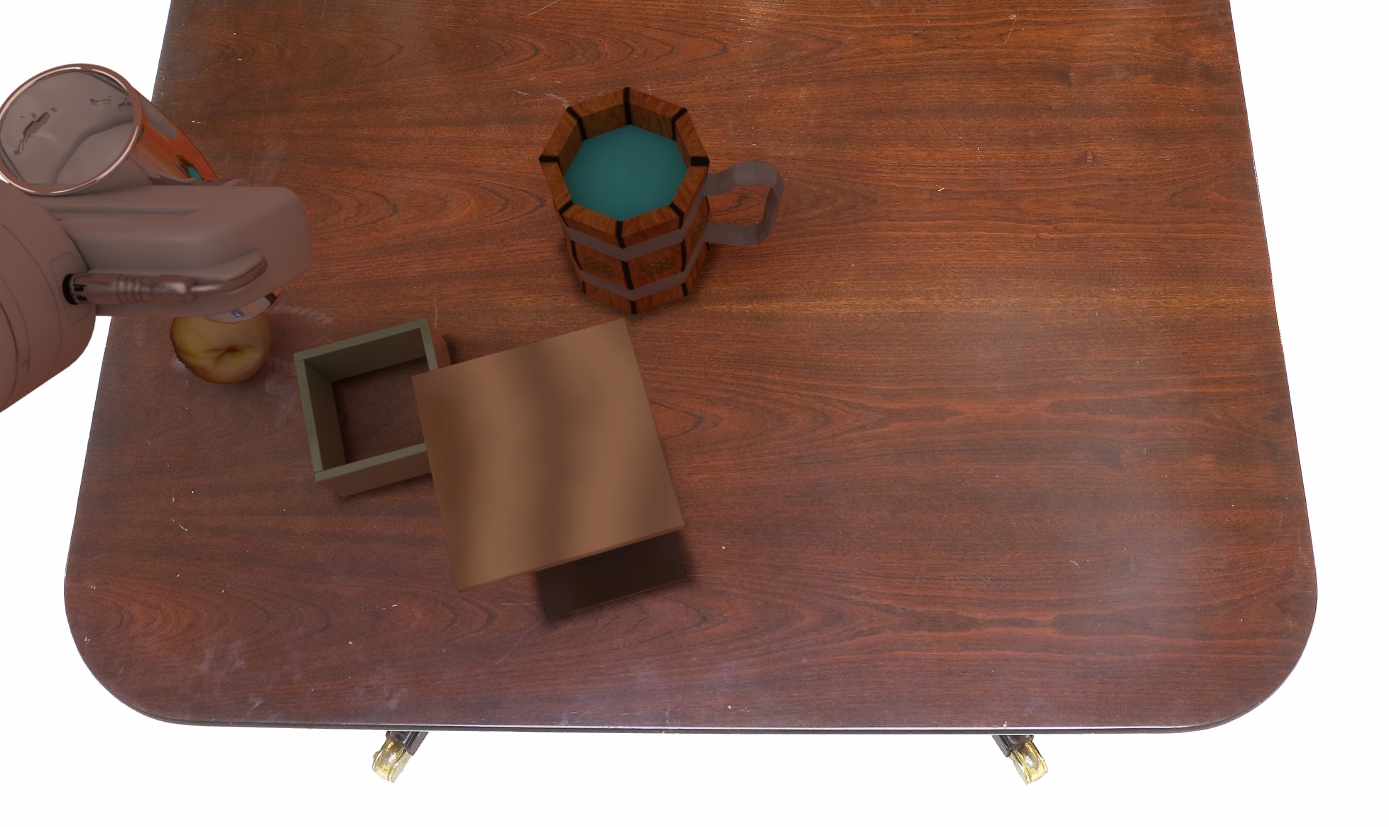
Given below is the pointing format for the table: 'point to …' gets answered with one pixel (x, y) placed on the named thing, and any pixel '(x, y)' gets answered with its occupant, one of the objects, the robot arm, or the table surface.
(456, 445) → the square wooden board
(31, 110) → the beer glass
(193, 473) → the table surface
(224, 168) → the table surface
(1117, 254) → the table surface
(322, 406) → the holder
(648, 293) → the mug
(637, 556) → the stand post
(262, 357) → the fruit
